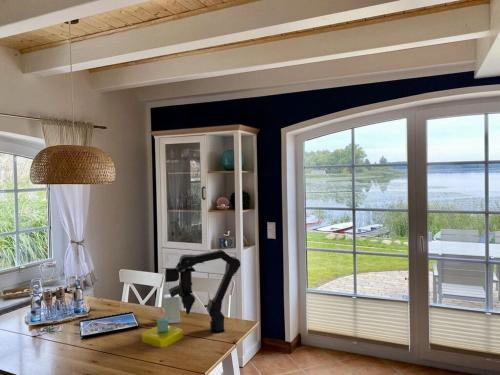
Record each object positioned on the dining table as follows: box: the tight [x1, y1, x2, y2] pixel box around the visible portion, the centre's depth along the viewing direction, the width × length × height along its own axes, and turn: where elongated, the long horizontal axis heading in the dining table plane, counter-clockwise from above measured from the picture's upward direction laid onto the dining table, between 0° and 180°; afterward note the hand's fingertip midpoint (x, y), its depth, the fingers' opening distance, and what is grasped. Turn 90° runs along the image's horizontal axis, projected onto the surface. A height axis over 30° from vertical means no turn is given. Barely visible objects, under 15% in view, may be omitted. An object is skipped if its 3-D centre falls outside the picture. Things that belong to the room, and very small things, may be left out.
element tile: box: [141, 324, 184, 348], centre depth 186 cm, size 15×15×5 cm
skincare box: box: [163, 293, 181, 325], centre depth 209 cm, size 8×6×15 cm
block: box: [156, 316, 169, 332], centre depth 187 cm, size 5×5×5 cm
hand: (186, 311), depth 191 cm, fingers open, 9 cm apart
